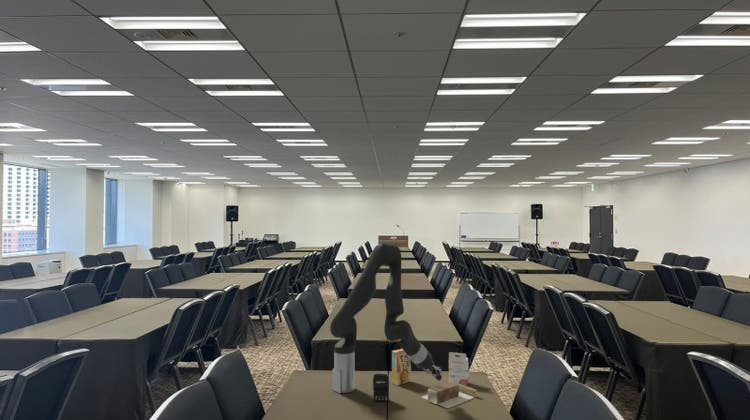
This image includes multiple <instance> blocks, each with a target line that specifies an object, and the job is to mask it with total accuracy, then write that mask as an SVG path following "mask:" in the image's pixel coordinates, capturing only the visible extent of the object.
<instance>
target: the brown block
mask: <svg viewBox="0 0 750 420" xmlns="http://www.w3.org/2000/svg"><path fill="white" fill-rule="evenodd" d="M427 395H428V400H427V401H428V402H430V403H431V404H435V405H438V404H439V403H442V402H445V401H447V400H450V399H453V398H456V397H458V396H459V385H458V384H455V383H453V382H449V381H447V382H445V383H441V384H440V385H439V384H438V385H435V386H433V387H429V388H427Z"/></svg>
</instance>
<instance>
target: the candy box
mask: <svg viewBox="0 0 750 420" xmlns="http://www.w3.org/2000/svg"><path fill="white" fill-rule="evenodd" d="M411 381H412V360H411V359H410V358H409V357H408V355H407V354H406V353H405V352H404V350H403V349H402V348H400V349H396V350H391V383H392V385H395V386H401V385H404V384H406V383H409V382H411Z"/></svg>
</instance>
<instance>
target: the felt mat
mask: <svg viewBox="0 0 750 420" xmlns="http://www.w3.org/2000/svg"><path fill="white" fill-rule="evenodd" d="M421 399H423V400H426V401H428V394H425V395H423V396H421ZM473 399H475V398H474V397H472V396H469V395H466V394H463V393H461V392H459V396H458V397H456V398H453V399H450V400H447V401H445V402H442V403H439V404H437V405H438V406H440V407H443V408H446V409H450V408H452V407H455V406H458V405H461V404H462V403H465V402H468V401H470V400H473Z"/></svg>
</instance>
